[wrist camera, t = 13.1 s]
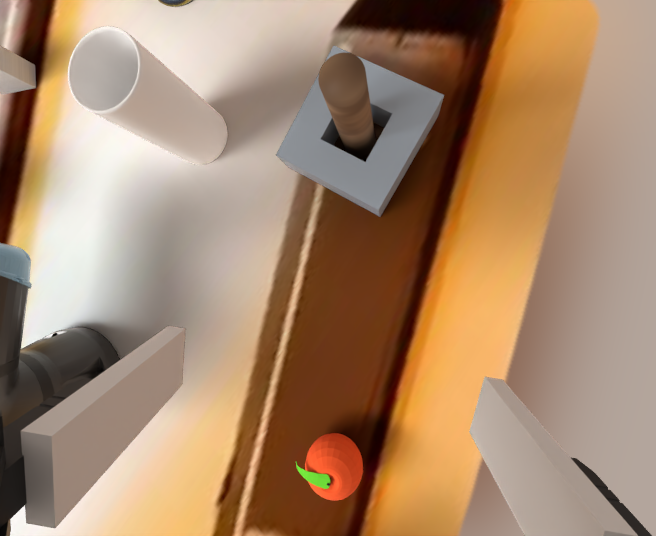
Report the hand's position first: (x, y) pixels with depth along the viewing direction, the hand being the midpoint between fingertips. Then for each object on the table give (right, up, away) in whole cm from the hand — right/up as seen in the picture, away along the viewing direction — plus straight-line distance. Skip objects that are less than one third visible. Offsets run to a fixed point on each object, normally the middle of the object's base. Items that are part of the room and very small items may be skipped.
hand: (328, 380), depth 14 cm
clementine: (+1, -19, +29) cm, 34 cm away
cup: (-18, +24, +32) cm, 44 cm away
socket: (+4, +21, +28) cm, 35 cm away
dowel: (+4, +21, +28) cm, 35 cm away
